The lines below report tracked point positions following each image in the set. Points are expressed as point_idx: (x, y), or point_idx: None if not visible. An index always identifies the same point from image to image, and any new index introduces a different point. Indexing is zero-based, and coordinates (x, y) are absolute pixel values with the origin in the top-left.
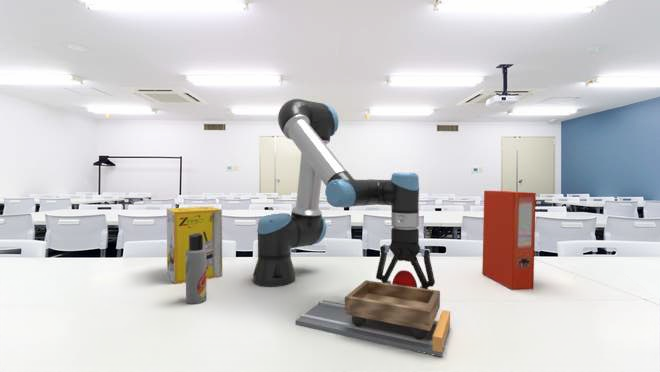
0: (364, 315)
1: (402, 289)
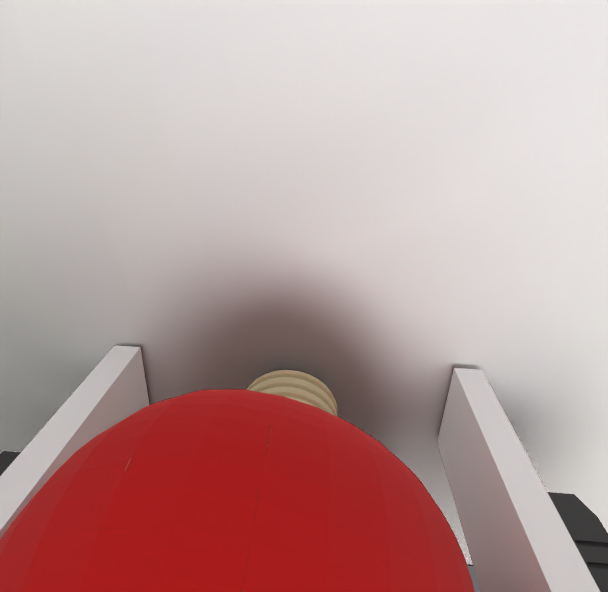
0: None
1: None
